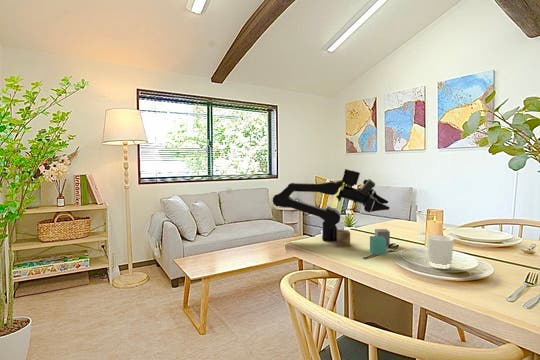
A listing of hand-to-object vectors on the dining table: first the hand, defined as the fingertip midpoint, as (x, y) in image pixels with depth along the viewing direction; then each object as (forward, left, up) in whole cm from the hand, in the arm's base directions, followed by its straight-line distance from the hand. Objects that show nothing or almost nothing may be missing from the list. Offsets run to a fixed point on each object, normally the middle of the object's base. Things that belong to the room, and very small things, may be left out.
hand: (388, 205), depth 137 cm
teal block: (-8, -15, -17) cm, 24 cm away
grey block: (-3, -2, -17) cm, 17 cm away
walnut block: (-20, -5, -17) cm, 27 cm away
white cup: (+9, -30, -17) cm, 36 cm away
